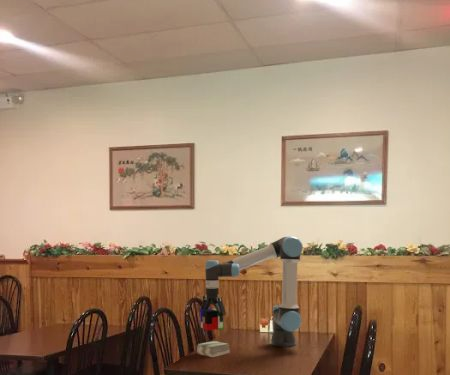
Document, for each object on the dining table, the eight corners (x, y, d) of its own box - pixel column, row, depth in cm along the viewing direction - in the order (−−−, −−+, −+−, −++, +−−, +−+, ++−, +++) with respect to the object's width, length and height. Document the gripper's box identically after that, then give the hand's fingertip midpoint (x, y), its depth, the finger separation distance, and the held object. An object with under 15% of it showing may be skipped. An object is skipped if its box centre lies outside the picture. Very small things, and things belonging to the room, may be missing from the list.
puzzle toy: (200, 327, 269) (200, 309, 271) (217, 326, 273) (216, 308, 274) (206, 330, 260) (206, 311, 261) (223, 328, 264) (223, 310, 265)
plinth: (229, 352, 265) (229, 343, 266) (212, 357, 256) (212, 347, 257) (213, 349, 274) (213, 340, 275) (197, 353, 265) (196, 344, 266)
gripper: (193, 287, 276) (193, 324, 273) (222, 289, 258) (222, 329, 256) (203, 286, 281) (203, 323, 278) (231, 288, 263) (232, 328, 261)
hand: (212, 326), depth 267 cm, fingers closed on puzzle toy, 12 cm apart
